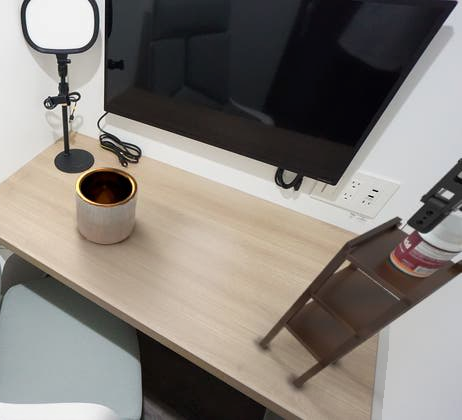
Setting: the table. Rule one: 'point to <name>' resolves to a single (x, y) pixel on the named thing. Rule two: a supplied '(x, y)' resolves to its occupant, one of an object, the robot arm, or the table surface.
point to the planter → (105, 204)
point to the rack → (356, 297)
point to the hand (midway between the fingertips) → (437, 217)
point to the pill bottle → (429, 248)
